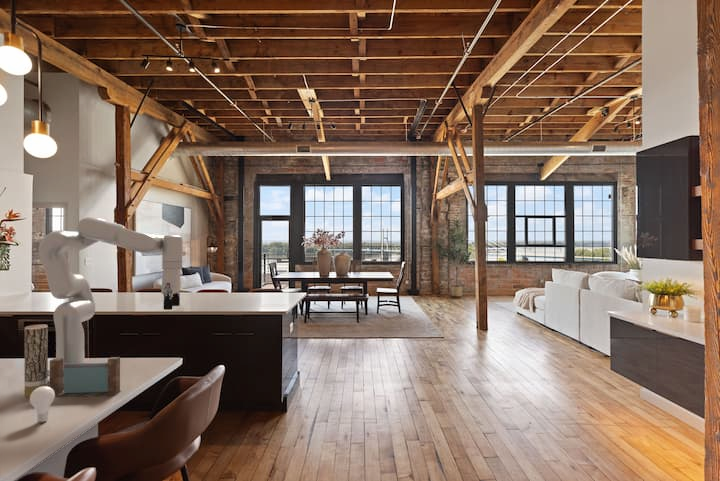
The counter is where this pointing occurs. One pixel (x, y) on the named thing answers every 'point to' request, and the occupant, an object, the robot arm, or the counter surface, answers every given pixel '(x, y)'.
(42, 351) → the wooden log
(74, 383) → the gate
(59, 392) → the gate frame
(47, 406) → the lightbulb
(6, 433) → the counter surface
